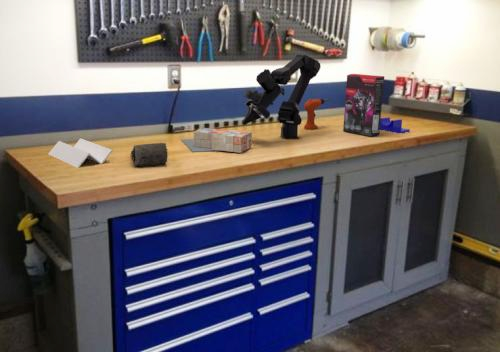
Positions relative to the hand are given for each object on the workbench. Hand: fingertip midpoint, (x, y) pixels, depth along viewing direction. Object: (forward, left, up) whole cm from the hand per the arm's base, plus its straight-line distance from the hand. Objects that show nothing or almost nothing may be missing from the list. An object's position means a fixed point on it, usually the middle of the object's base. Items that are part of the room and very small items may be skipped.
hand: (242, 123), depth 213 cm
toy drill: (-47, -29, -8) cm, 56 cm away
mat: (+17, 0, -8) cm, 19 cm away
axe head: (+40, +19, -9) cm, 45 cm away
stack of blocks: (+7, +3, -5) cm, 9 cm away
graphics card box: (-61, -10, -8) cm, 63 cm away
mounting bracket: (-81, -16, -9) cm, 83 cm away
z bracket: (+65, +13, -9) cm, 67 cm away
